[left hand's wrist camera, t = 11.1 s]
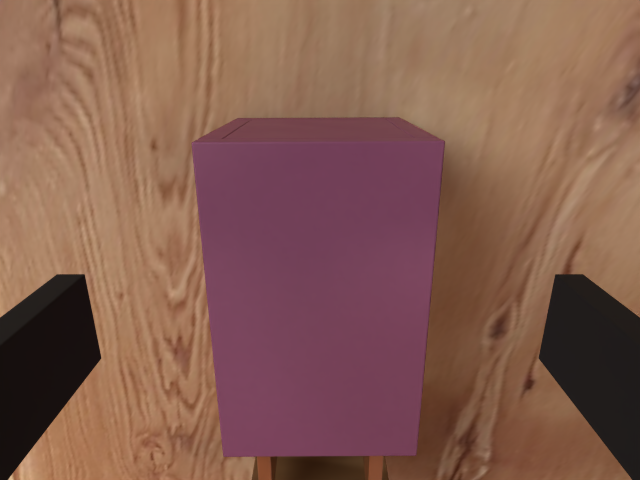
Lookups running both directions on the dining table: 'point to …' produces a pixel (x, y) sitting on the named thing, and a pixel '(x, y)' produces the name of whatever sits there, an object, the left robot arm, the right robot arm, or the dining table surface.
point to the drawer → (320, 468)
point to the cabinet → (319, 281)
